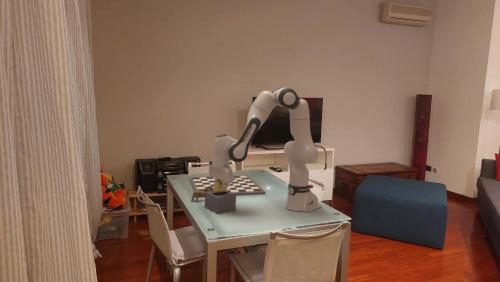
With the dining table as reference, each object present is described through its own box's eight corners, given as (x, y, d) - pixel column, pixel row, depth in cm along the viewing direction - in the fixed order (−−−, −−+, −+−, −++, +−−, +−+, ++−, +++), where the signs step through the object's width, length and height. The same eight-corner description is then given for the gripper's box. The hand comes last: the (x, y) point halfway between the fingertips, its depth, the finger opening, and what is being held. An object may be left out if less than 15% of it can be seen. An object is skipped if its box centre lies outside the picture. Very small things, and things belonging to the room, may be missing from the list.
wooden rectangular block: (224, 189, 209) (224, 179, 208) (226, 190, 207) (227, 180, 206) (214, 191, 205) (214, 180, 204) (216, 192, 203) (216, 181, 202)
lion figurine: (211, 198, 226) (211, 184, 225) (214, 200, 222) (215, 186, 220) (188, 201, 219) (189, 186, 218) (191, 203, 215) (192, 188, 213)
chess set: (189, 180, 270) (189, 165, 268) (247, 178, 282) (248, 164, 280) (196, 198, 227) (197, 180, 225) (265, 195, 239) (266, 178, 237)
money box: (222, 203, 217) (222, 188, 215) (235, 210, 206) (236, 194, 204) (204, 206, 210) (205, 191, 208) (217, 214, 198) (217, 198, 197)
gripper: (236, 166, 197) (235, 190, 199) (216, 159, 214) (216, 182, 216) (226, 167, 194) (225, 192, 196) (207, 160, 210) (206, 183, 212)
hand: (220, 187), depth 206 cm, fingers closed on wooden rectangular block, 2 cm apart
